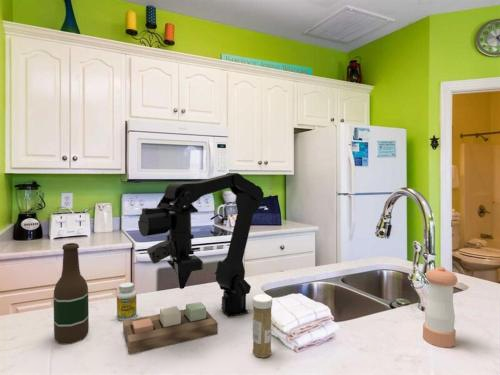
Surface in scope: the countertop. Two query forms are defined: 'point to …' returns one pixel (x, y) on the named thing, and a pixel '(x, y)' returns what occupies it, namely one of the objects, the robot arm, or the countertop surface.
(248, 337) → the countertop surface
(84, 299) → the beer bottle
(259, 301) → the sprinkles bottle
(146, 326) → the terracotta key
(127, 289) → the supplement bottle
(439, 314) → the pepper shaker
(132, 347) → the wooden tray
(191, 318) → the sage key
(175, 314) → the cream key
